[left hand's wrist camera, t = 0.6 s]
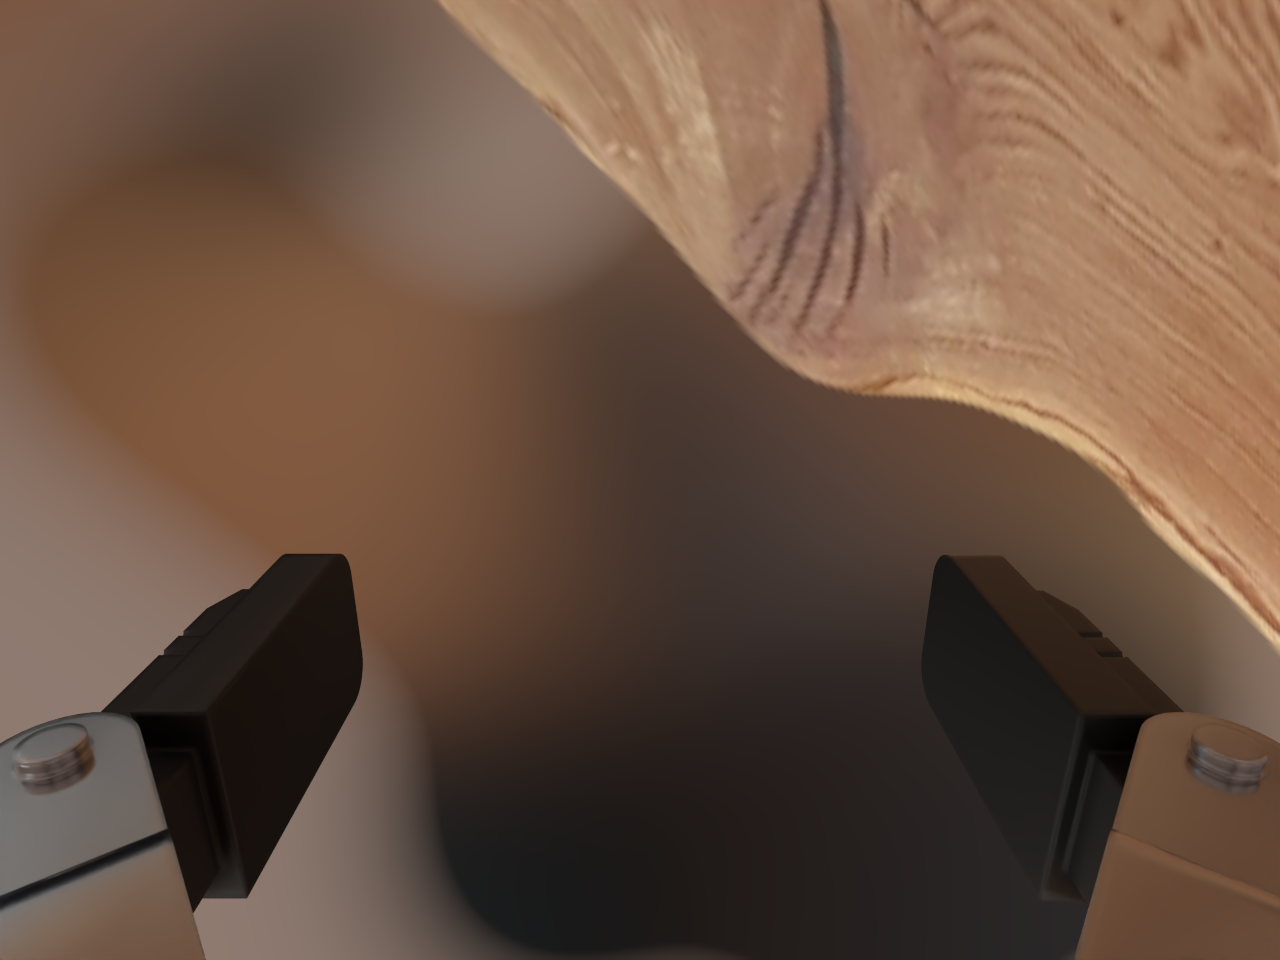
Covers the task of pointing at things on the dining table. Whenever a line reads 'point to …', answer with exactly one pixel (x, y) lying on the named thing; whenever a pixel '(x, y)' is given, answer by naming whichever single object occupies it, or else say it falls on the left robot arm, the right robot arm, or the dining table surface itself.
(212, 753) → the left robot arm
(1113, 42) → the dining table surface
